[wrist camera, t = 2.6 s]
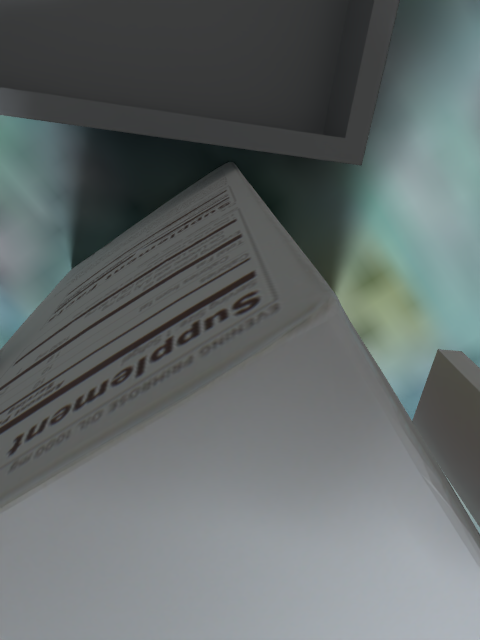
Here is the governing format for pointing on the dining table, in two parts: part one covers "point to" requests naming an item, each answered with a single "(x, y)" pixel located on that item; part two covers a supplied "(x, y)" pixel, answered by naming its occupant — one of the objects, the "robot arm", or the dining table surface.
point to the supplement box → (217, 451)
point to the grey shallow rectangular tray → (202, 69)
